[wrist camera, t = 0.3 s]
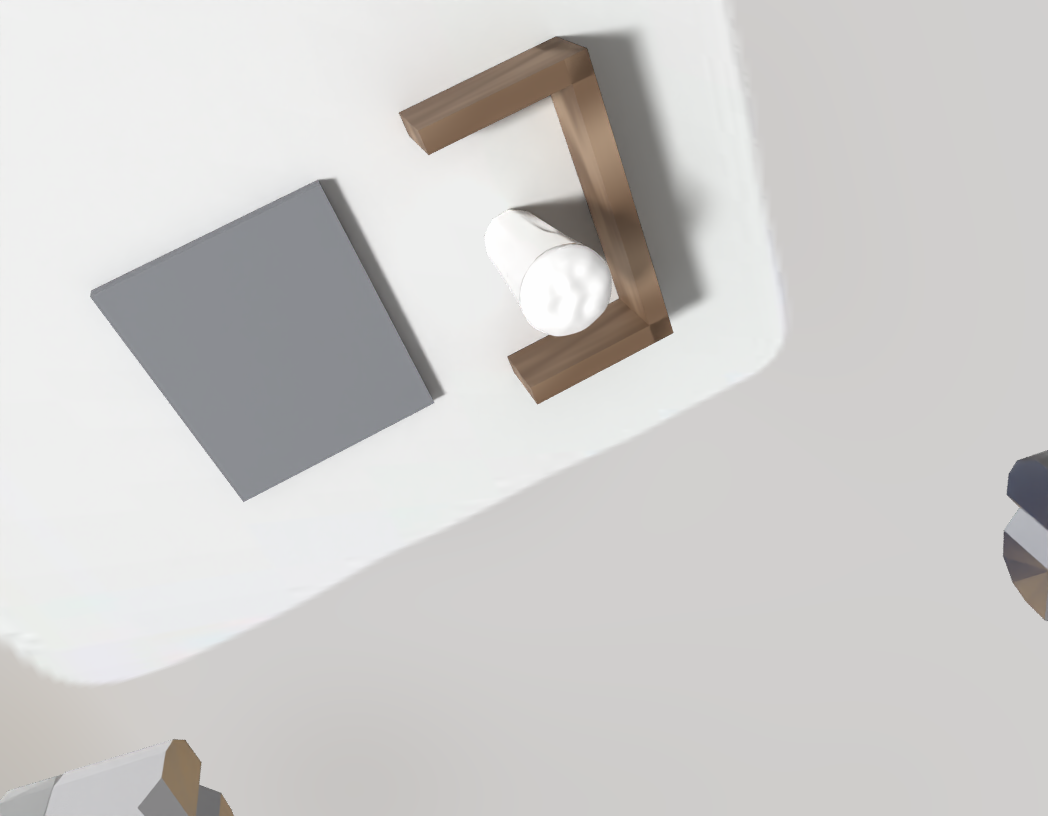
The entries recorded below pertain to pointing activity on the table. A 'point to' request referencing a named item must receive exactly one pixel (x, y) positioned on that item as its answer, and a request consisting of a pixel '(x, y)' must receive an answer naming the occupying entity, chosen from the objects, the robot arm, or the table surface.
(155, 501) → the table surface
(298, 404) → the grey pad
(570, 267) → the milkshake
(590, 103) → the walnut cubby
